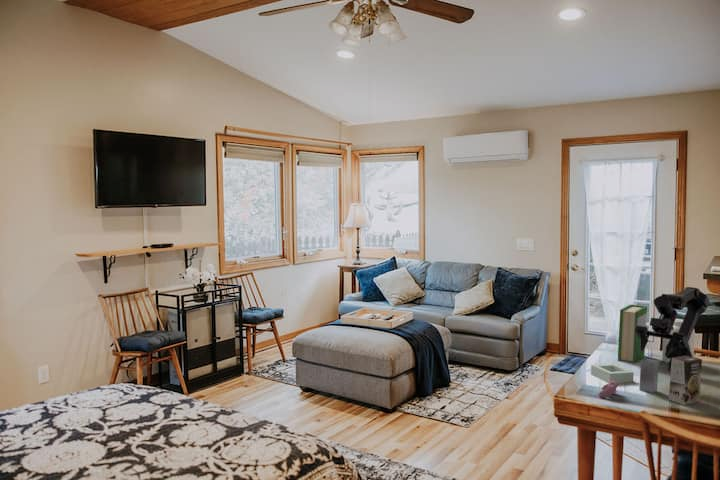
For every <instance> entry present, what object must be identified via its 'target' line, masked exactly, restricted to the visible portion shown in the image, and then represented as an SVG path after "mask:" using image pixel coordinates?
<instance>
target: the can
mask: <svg viewBox="0 0 720 480" xmlns="http://www.w3.org/2000/svg"><path fill="white" fill-rule="evenodd" d="M683 320H684V318H678V319H676V320H675V322H674V325H673V328H674V329H673V330H671V333H670V335H673V333H674V332H677V333H678V332H679V329H680V327H681V324H682V322H683ZM695 337H696V332H695V328H694V329H693V331H692V334H691V336H690V339H689V342H688V343H689V346H690V351H691V353H692V355H693V357H694V355H695V341H696V339H695ZM669 341H670V339H665V338H662V354H661V359H662V361H663V362H664V363H666V364H668V365H669V361H670V358H667V356H665V353H666V346H667V344H668V342H669Z"/></svg>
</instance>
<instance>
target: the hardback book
mask: <svg viewBox="0 0 720 480" xmlns="http://www.w3.org/2000/svg"><path fill="white" fill-rule="evenodd" d="M647 312H648V306H645V305H637V304H629V305H627V306H625V307H623V308H620V310H619V325H618V326H619V328H618V347H617V361H618V362H620V361H622V360H623V361H627V362H632V364H637V363H638V362H639V361H641V360H642V358H643V359H644V358H645V355H646V354H645V352H646V348H645V349H644V350H643V351H641V339H640V337H638V335H637V334H636V332H635V327H636V326H638V325H639V326H644V327H647V319H648V318H647V316H648V313H647Z"/></svg>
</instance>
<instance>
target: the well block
mask: <svg viewBox="0 0 720 480" xmlns="http://www.w3.org/2000/svg"><path fill="white" fill-rule="evenodd" d="M590 366H591V367H590V368H591V369H590V375H591V376H594V377H596V378H598V379H599V380H602V381H604V382H606V383H607V384H608V383H609V382H610V381H613V380H614V381H617V382H618V383H619V384H620V383H633V382H634V373H635V372H634V371H632V370H629V369H627V368H625V367H623V366H621V365H618V364H615V363H606V364H605V363H603V364H602V363H601V364H591V365H590Z"/></svg>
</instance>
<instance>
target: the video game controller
mask: <svg viewBox="0 0 720 480" xmlns="http://www.w3.org/2000/svg"><path fill="white" fill-rule="evenodd" d="M619 384H620V383H618V382H617V381H614V380H613V381H610V382H609V383H608V382H607V383H606V384H604V385H603V386H602V388H601V391H600V392H599V393H598V396H599V398H603V399H604V398H608V397H609V398H610V397H612V395H613V394H617V388H618V386H619Z"/></svg>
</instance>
